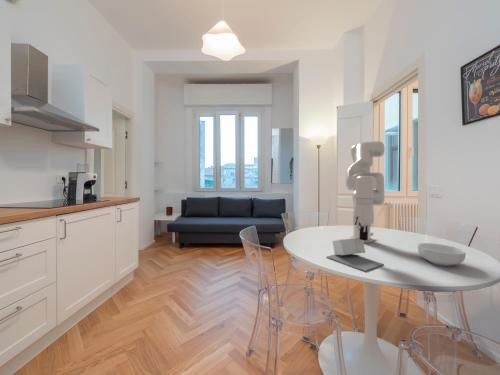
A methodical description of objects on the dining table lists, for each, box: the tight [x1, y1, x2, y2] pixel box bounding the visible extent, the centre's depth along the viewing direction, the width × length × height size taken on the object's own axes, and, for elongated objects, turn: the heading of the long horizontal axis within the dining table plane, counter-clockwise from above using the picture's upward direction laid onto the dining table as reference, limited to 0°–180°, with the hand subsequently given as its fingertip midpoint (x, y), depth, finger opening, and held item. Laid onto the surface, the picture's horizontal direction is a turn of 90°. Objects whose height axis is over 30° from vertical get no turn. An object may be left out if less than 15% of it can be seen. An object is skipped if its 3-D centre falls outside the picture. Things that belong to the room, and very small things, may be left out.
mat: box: [326, 253, 384, 273], centre depth 108 cm, size 14×20×1 cm
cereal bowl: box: [417, 242, 467, 267], centre depth 106 cm, size 17×17×7 cm
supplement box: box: [332, 238, 366, 255], centre depth 115 cm, size 7×7×13 cm
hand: (363, 239), depth 112 cm, fingers closed
